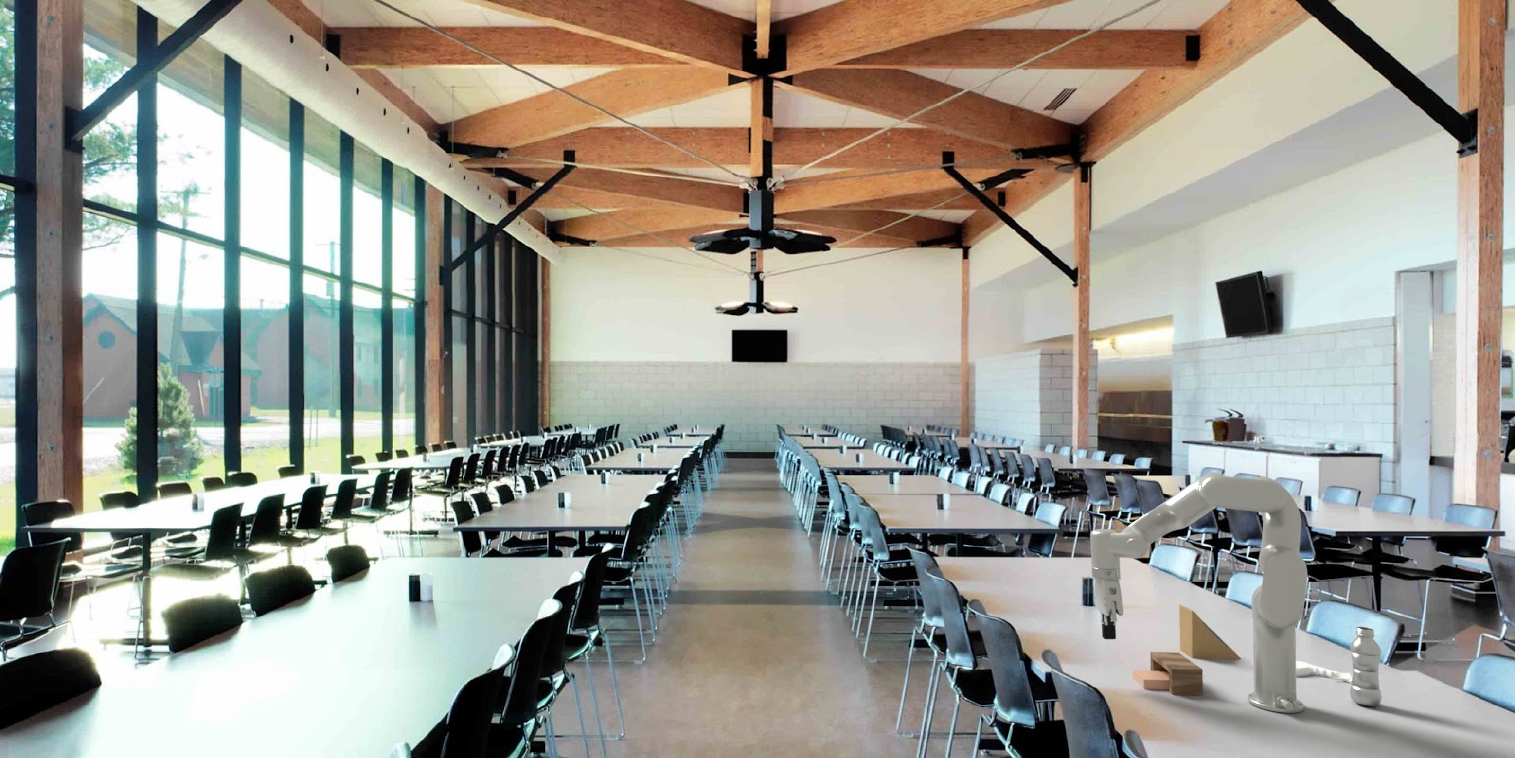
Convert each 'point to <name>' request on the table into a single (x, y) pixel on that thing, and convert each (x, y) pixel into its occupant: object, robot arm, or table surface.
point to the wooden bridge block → (1179, 673)
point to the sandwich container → (1201, 638)
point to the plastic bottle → (1365, 668)
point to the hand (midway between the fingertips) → (1109, 638)
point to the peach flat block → (1152, 679)
